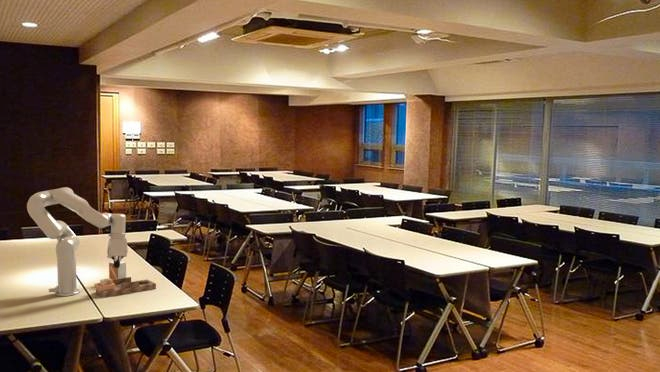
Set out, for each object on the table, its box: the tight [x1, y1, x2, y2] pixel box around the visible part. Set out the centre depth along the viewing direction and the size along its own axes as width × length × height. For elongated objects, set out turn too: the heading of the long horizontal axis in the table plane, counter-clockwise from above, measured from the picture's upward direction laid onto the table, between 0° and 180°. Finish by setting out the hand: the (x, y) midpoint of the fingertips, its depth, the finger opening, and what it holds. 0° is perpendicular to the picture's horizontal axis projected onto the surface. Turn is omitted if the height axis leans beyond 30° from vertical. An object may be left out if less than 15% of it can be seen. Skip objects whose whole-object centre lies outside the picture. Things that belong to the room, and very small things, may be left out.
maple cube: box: [99, 277, 112, 286], centre depth 318 cm, size 5×5×5 cm
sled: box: [93, 282, 115, 291], centre depth 318 cm, size 9×9×2 cm
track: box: [95, 276, 157, 298], centre depth 325 cm, size 30×13×6 cm, turn 130°
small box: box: [108, 261, 127, 283], centre depth 341 cm, size 8×6×13 cm
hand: (116, 267), depth 322 cm, fingers closed
